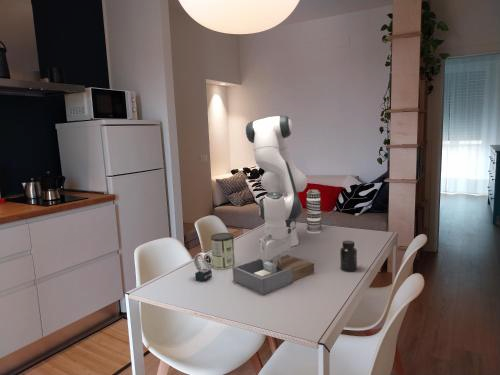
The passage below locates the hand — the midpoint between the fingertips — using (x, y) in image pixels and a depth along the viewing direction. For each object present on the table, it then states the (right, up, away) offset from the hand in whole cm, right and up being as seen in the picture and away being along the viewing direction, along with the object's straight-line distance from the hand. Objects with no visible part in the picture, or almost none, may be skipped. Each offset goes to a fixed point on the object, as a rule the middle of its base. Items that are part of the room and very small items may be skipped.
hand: (276, 264), depth 151 cm
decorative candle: (+27, +6, +66) cm, 72 cm away
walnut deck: (+6, -4, +5) cm, 9 cm away
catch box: (-6, -6, -4) cm, 9 cm away
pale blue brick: (-2, -2, 0) cm, 2 cm away
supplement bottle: (+31, -3, +6) cm, 32 cm away
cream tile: (-6, -2, -4) cm, 8 cm away
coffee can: (-23, -4, +17) cm, 29 cm away
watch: (-30, -6, +2) cm, 31 cm away
